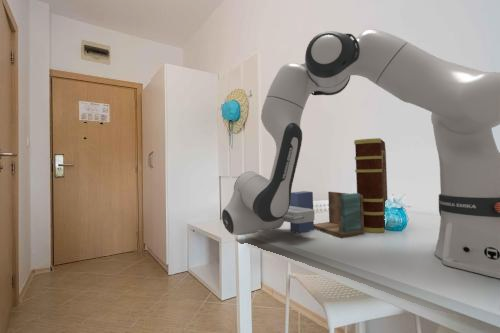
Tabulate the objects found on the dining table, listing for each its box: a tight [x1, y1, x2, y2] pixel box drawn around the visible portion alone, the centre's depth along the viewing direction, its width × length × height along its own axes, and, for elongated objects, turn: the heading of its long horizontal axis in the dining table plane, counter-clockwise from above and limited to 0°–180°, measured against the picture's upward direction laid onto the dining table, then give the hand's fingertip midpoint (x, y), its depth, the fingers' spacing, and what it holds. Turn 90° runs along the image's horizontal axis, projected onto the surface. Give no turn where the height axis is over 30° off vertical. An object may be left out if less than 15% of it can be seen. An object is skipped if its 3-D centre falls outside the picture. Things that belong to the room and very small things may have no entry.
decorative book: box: [353, 137, 388, 234], centre depth 92 cm, size 22×8×30 cm, turn 148°
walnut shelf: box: [314, 191, 365, 239], centre depth 87 cm, size 15×9×13 cm, turn 23°
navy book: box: [289, 190, 315, 234], centre depth 88 cm, size 4×7×13 cm, turn 123°
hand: (303, 209), depth 89 cm, fingers closed on navy book, 4 cm apart
